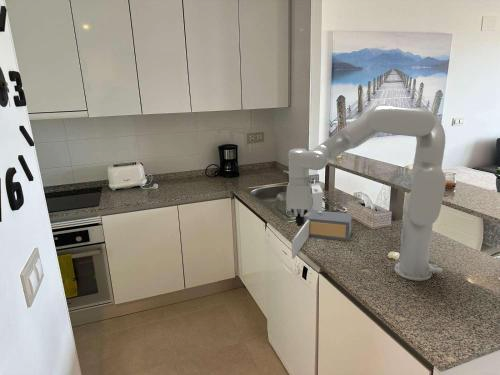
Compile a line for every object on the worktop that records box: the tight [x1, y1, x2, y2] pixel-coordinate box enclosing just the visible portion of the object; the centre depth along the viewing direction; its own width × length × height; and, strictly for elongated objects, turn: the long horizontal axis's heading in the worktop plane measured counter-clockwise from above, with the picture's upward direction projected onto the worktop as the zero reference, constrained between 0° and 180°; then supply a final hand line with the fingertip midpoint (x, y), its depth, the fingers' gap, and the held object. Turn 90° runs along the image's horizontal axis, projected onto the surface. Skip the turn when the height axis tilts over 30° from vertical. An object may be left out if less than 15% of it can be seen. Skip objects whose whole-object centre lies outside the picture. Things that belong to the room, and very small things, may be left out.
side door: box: [291, 219, 310, 260], centre depth 150 cm, size 25×2×8 cm, turn 156°
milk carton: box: [304, 182, 324, 216], centre depth 182 cm, size 7×7×19 cm
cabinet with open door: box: [301, 210, 353, 242], centre depth 163 cm, size 22×12×10 cm, turn 69°
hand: (299, 224), depth 138 cm, fingers closed
